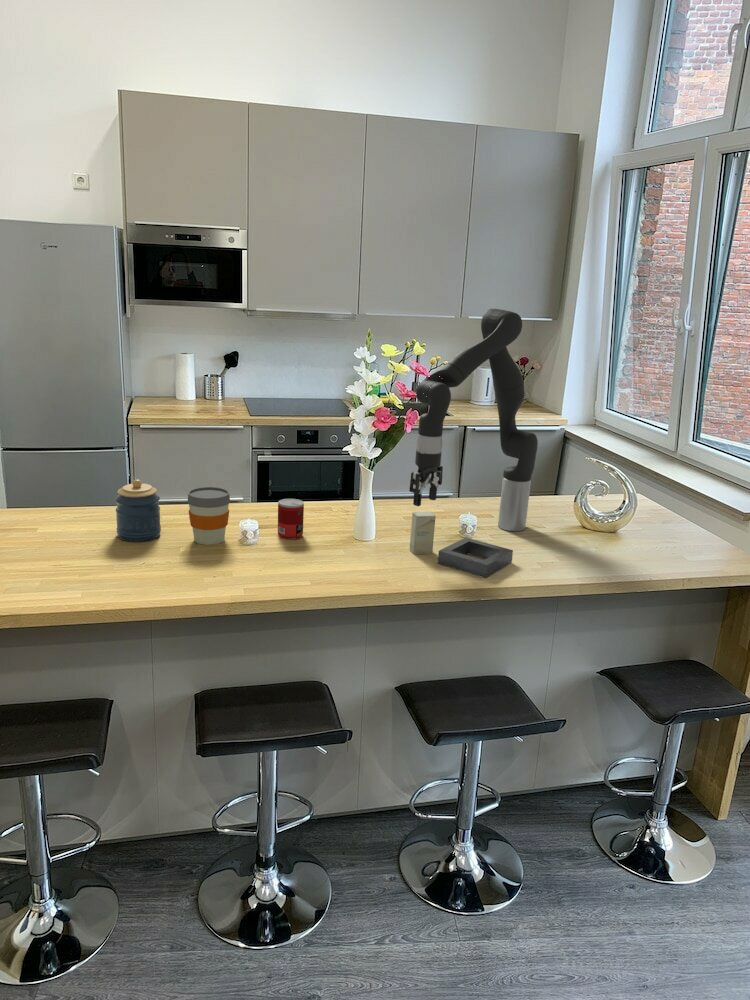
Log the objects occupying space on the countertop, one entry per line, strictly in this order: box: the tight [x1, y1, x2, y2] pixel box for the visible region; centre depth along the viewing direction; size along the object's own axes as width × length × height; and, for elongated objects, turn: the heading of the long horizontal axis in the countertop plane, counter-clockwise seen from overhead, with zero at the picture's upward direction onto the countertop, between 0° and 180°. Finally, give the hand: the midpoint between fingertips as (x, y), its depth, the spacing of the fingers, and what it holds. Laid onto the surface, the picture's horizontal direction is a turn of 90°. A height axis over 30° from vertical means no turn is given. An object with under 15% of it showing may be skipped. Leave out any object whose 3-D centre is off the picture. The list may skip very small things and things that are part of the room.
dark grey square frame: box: [437, 537, 514, 579], centre depth 229 cm, size 16×16×4 cm
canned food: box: [277, 498, 305, 540], centre depth 243 cm, size 8×8×11 cm
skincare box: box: [409, 511, 437, 555], centre depth 235 cm, size 6×4×12 cm
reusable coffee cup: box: [187, 486, 231, 546], centre depth 235 cm, size 12×13×15 cm
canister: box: [114, 479, 162, 543], centre depth 235 cm, size 13×13×18 cm
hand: (424, 502), depth 232 cm, fingers open, 8 cm apart
